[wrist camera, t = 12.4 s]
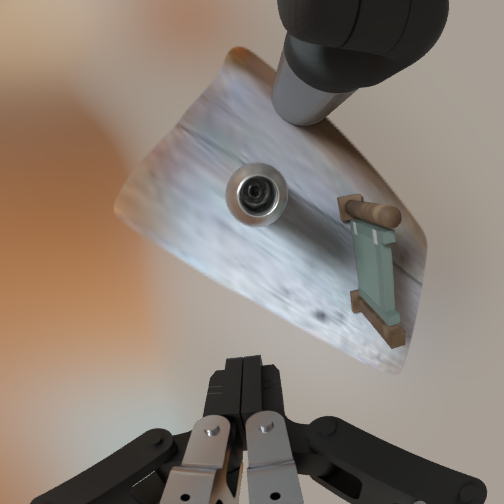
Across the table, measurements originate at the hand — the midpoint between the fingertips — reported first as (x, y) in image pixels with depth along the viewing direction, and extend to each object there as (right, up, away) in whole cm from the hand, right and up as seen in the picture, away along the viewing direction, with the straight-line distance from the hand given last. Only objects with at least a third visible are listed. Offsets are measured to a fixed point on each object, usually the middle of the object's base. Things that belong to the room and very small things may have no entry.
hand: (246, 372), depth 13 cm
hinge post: (+15, +12, +32) cm, 38 cm away
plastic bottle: (+1, +14, +32) cm, 35 cm away
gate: (+17, +4, +32) cm, 37 cm away
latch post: (+18, -3, +36) cm, 40 cm away
